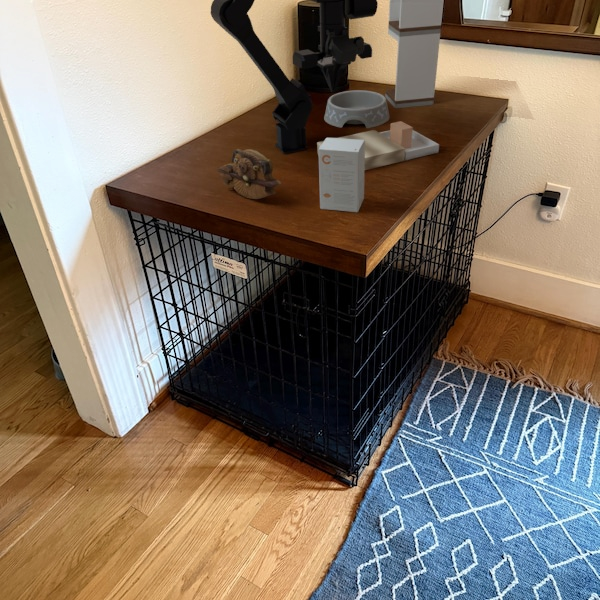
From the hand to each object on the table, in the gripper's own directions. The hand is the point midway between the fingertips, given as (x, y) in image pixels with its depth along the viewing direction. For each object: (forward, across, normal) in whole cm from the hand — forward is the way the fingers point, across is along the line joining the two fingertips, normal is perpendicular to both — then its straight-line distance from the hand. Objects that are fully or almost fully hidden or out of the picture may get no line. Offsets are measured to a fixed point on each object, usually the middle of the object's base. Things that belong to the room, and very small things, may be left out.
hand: (333, 91), depth 138 cm
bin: (+12, +13, -14) cm, 23 cm away
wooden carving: (+12, -31, -20) cm, 39 cm away
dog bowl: (+13, +13, +11) cm, 21 cm away
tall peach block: (+9, +10, -14) cm, 19 cm away
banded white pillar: (+12, +33, +15) cm, 38 cm away
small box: (+12, -15, -33) cm, 38 cm away
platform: (+12, 0, -14) cm, 18 cm away
